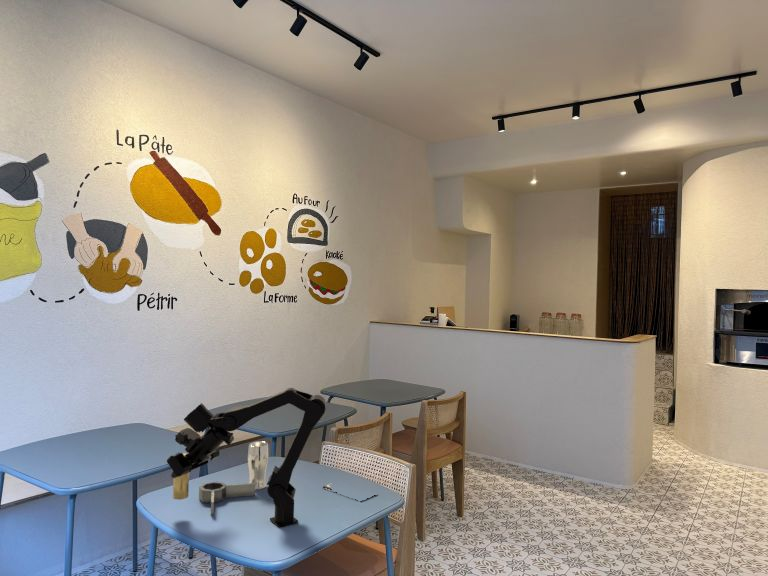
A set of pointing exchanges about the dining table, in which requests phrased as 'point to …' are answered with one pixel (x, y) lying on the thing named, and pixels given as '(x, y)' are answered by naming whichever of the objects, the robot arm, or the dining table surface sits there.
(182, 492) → the hinge pin
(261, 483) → the beer glass
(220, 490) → the grey ring with arms
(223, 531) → the dining table surface
